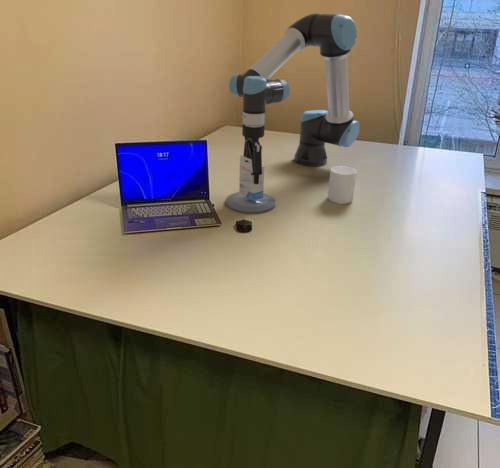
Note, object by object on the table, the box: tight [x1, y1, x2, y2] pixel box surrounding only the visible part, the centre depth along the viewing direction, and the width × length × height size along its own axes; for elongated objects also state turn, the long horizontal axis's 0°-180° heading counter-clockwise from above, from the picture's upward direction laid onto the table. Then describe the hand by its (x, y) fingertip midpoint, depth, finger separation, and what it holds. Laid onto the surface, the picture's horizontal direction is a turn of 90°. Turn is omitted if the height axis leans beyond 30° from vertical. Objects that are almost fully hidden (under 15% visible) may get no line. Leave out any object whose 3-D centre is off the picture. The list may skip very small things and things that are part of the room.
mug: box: [327, 165, 357, 205], centre depth 181 cm, size 10×12×12 cm
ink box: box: [238, 154, 265, 201], centre depth 172 cm, size 8×5×15 cm, turn 39°
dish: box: [225, 191, 276, 215], centre depth 176 cm, size 18×18×1 cm
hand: (251, 186), depth 173 cm, fingers closed on ink box, 9 cm apart
